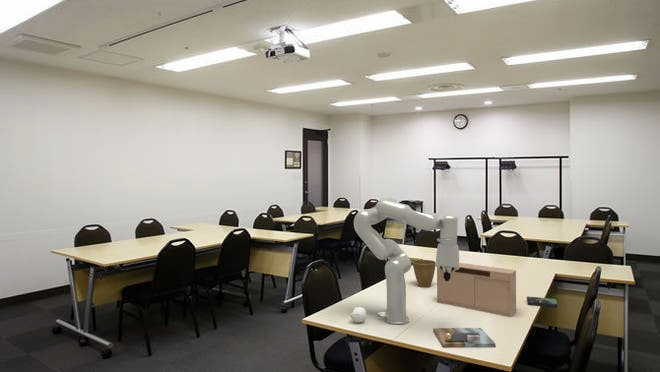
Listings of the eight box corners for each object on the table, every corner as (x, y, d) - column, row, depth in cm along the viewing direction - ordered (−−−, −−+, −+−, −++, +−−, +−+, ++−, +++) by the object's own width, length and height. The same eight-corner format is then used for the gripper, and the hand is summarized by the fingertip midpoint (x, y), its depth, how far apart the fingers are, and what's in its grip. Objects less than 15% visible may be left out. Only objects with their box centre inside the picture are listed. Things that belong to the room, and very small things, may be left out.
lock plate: (443, 347, 176) (443, 337, 176) (433, 331, 194) (433, 321, 194) (495, 347, 175) (495, 336, 175) (480, 331, 193) (480, 321, 193)
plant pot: (434, 283, 278) (433, 259, 278) (437, 289, 263) (437, 264, 263) (411, 283, 280) (411, 259, 279) (413, 289, 265) (413, 264, 264)
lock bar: (445, 341, 177) (445, 334, 177) (444, 339, 180) (444, 332, 180) (480, 341, 177) (480, 334, 177) (478, 339, 179) (477, 332, 179)
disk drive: (527, 306, 230) (558, 308, 224) (527, 301, 230) (558, 303, 224) (526, 301, 239) (555, 303, 234) (526, 296, 239) (555, 298, 234)
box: (510, 318, 210) (510, 273, 210) (436, 303, 236) (436, 263, 235) (516, 312, 218) (516, 270, 217) (444, 298, 244) (444, 260, 243)
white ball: (357, 318, 213) (357, 303, 213) (369, 321, 208) (369, 306, 208) (347, 322, 207) (347, 307, 206) (360, 326, 202) (360, 310, 202)
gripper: (430, 241, 194) (429, 280, 195) (464, 244, 188) (462, 284, 189) (433, 239, 201) (432, 276, 202) (466, 242, 195) (464, 280, 196)
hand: (446, 280), depth 195 cm, fingers closed
